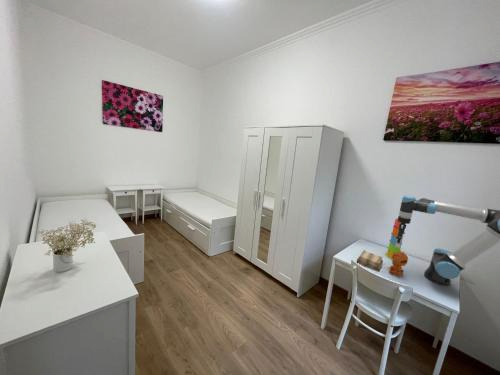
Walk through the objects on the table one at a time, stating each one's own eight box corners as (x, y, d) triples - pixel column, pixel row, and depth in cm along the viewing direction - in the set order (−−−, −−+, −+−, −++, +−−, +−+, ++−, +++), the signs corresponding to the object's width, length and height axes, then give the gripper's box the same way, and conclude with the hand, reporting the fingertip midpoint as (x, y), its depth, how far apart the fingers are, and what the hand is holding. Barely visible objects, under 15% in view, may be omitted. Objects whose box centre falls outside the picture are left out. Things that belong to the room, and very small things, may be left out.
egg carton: (382, 263, 174) (384, 257, 173) (379, 271, 162) (380, 264, 161) (361, 256, 184) (362, 249, 183) (356, 262, 172) (357, 256, 170)
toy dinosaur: (407, 279, 156) (413, 257, 152) (391, 276, 158) (396, 254, 154) (400, 270, 166) (406, 249, 162) (385, 268, 168) (390, 247, 164)
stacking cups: (400, 261, 181) (410, 222, 174) (386, 257, 185) (395, 219, 178) (398, 255, 190) (407, 219, 183) (384, 252, 195) (393, 216, 187)
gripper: (400, 212, 167) (394, 237, 171) (396, 219, 148) (390, 247, 152) (412, 214, 162) (406, 241, 166) (409, 222, 143) (402, 251, 147)
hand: (398, 244), depth 159 cm, fingers open, 13 cm apart
